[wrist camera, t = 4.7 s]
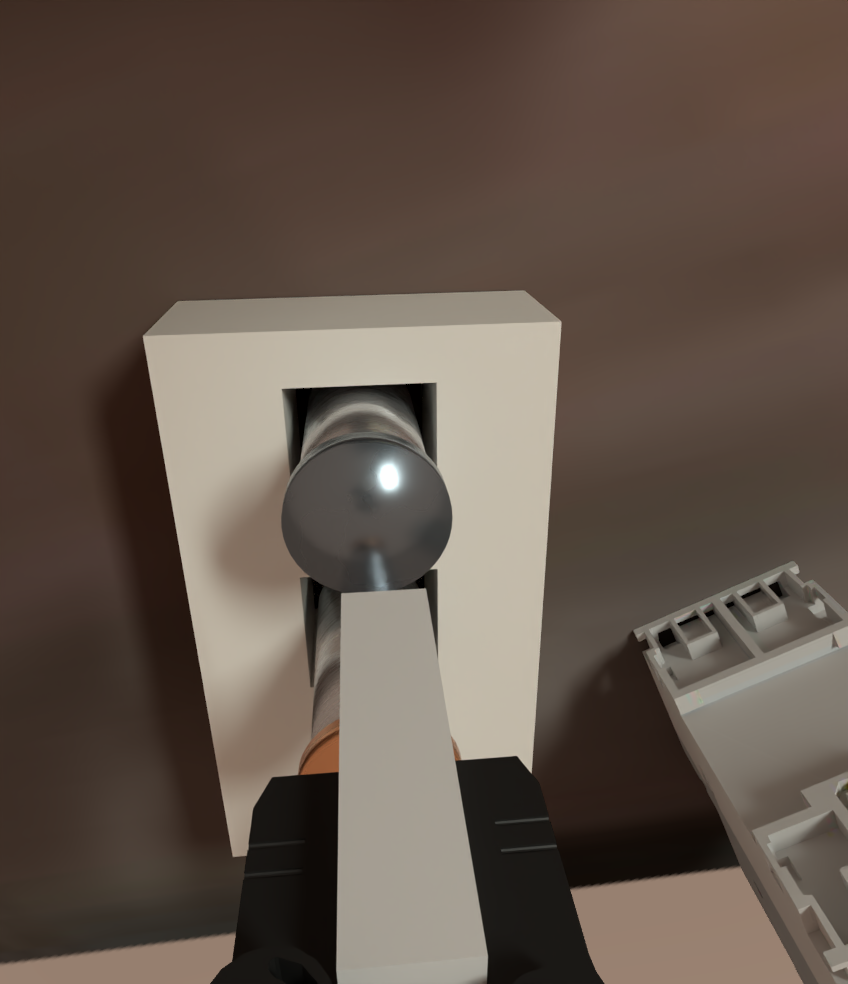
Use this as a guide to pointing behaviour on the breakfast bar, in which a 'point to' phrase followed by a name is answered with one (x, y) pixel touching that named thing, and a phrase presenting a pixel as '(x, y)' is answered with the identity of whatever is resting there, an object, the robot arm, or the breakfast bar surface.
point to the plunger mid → (330, 689)
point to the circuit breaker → (771, 747)
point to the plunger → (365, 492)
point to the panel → (277, 451)
